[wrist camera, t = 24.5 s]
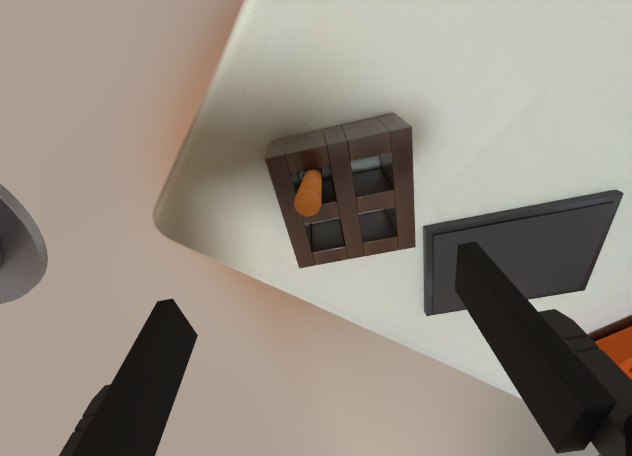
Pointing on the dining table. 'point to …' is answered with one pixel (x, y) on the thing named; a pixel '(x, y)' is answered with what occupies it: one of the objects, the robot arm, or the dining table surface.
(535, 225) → the tablet
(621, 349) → the orange slotted block
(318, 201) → the stylus
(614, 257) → the dining table surface
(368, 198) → the pen stand
